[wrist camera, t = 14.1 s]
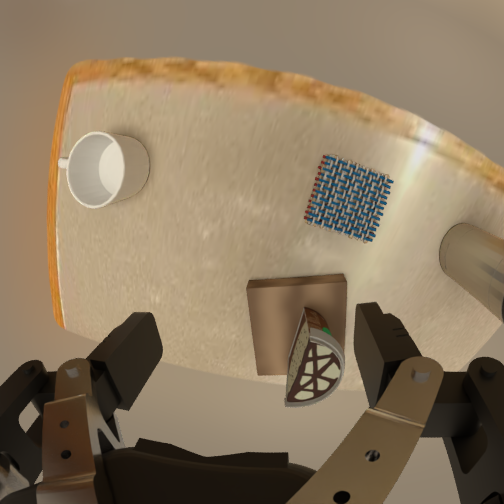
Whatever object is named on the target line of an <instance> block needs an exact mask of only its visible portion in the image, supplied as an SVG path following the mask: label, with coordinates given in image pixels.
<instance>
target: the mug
mask: <svg viewBox="0 0 504 504" xmlns="http://www.w3.org/2000/svg"><path fill="white" fill-rule="evenodd" d="M58 166H59V167H60V168H65V169H67V181H68V185H69V188H70V191H71V193H72V194H73V196H74V198H75V199H76V200H77V201H78V202H79V203H80V204H82V205H84V206H86V207H88V208H94V209H97V208H101V207H105V206H107V205H110V204H113V203H116V202H118V201H121V200H124V199H127V198H130V197H132V196H134V195H135V194H137V193H138V192H139V191H140V190H141V189H142V188H143V186H144V184H145V183H146V181H147V178H148V175H149V167H150V163H149V156H148V154H147V151H146V149H145V148H144V146H143V145H142V144H141V143H140V142H139V141H138V140H136V139H134V138H131V137H128V136H123V135H118V134H113V133H109V132H103V131H93V132H91V133H88V134H86V135H84V136H83V137H82V138H81V139H79V140H78V142H77V143H76V144H75V145H74V147H73V149H72V151H71V153H70V155H69V157H61V158H60V159H59V161H58Z"/></svg>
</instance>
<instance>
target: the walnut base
mask: <svg viewBox="0 0 504 504" xmlns="http://www.w3.org/2000/svg"><path fill="white" fill-rule="evenodd" d="M246 290H247V298H248V305H249V313H250V321H251V328H252V336H253V343H254V351H255V358H256V366H257V373H258V376H260V375H287V368H288V356H289V353H290V350H291V347H292V344H293V341H294V338H295V335H296V331H297V328H298V325H299V322H300V318H301V315H302V312H303V308H304V307H307V308H310V309H313V310H315V311H316V312H318V313H319V314H321V315H322V316H323V318H324V319H325V320H326V322H327V324H328V327H329V330H330V332H331V335H332V337H333V338H334V339H335V340H336V341H337V342H338V343H339V344H340V346H341V348H342V350H343V352H344V345H345V328H346V304H347V281H346V279H345V277H344V275H343V274H336V275H323V276H310V277H296V278H281V279H266V280H249V282H248V285H247V288H246Z"/></svg>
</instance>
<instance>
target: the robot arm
mask: <svg viewBox="0 0 504 504" xmlns="http://www.w3.org/2000/svg"><path fill="white" fill-rule="evenodd" d="M440 264H441V267H442V269H443V271H444V272H445V273H446V274H447V275H448V276H450V277H451V278H452V279H453V280H454V281H456V282H457V283H458V284H459V285H460V286H462V287H463V288H464V289H465V290H466V291H468V292H469V293H470V294H471V295H472V296H473V297H475V298H476V299H477V300H478V301H479V302H480V303H482V304H483V305H484V306H485V307H486V308H487V309H488V310H489V311H491V312H492V313H493V314H494V315H495V316H496V317H497V318H498V319H499V320H500V321H502V322H503V323H504V239H501V238H499V237H497V236H495V235H493V234H490V233H488V232H486V231H484V230H482V229H479V228H477V227H474V226H472V225H470V224H466V223H461V224H458V225H456V226H454V227H453V228H451V229H450V230H449V231H448V233H447V234H446V235H445V237H444V239H443V241H442V244H441V247H440ZM162 353H163V346H162V342H161V339H160V336H159V332H158V329H157V325H156V322H155V318H154V316H153V314H152V313H150V312H134V313H132V314H131V315H130V316H129V317H128V318H127V319H126V320H125V322H124V323H123V324H121V325H120V326H118V327H116V328H115V329H114V330H113V331H112V332H111V333H110V334H109V335H108V337H106V338H105V339H104V340H103V342H101V343H100V344H99V345H98V346H97V347H96V348H95V349H94V351H93V352H92V353H91V354H90V355H89V356H88V357H87V358H86V359H84V358H75V359H71V360H68V361H66V362H65V363H63V364H62V365H61V366H60V367H59V368H58V370H57V371H54V372H47V371H46V369H45V367H44V365H43V363H42V362H41V361H39V360H31V361H28V362H26V363H24V364H23V365H21V366H20V367H19V368H18V369H17V370H16V371H15V372H14V373H13V374H12V375H11V376H10V377H9V378H8V379H7V380H6V381H5V382H4V383H3V384H2V385H1V386H0V504H383V502H384V501H385V499H386V498H387V496H388V494H389V493H390V491H391V490H392V488H393V487H394V485H395V483H396V482H397V480H398V478H399V476H400V475H401V473H402V471H403V469H404V467H405V466H406V464H407V462H408V460H409V458H410V456H411V454H412V452H413V450H414V448H415V446H416V444H417V442H418V440H419V438H420V437H442V438H443V441H444V444H445V447H446V450H447V454H448V457H449V460H450V464H451V467H452V471H453V474H454V478H455V482H456V486H457V490H458V494H459V498H460V502H461V504H504V365H503V364H502V363H501V362H500V361H498V360H496V359H494V358H490V357H480V358H476V359H474V360H473V361H472V362H471V363H470V364H469V367H468V369H467V372H445V371H443V368H442V366H441V365H440V364H439V363H438V362H437V361H435V360H433V359H431V358H428V357H423V356H422V355H421V353H420V351H419V350H418V348H417V346H416V345H415V343H414V341H413V340H412V338H411V337H410V336H409V333H408V332H407V330H406V329H405V327H404V325H403V324H402V322H401V321H400V319H398V318H397V317H395V316H394V315H392V314H391V313H388V314H383V312H382V310H381V309H380V307H379V305H378V304H377V302H371V303H361V304H357V305H356V312H355V328H354V353H355V357H356V360H357V363H358V367H359V370H360V373H361V377H362V380H363V384H364V387H365V391H366V395H367V398H368V402H369V406H370V407H369V408H368V409H367V410H366V411H365V412H364V413H363V415H362V416H361V418H360V419H359V420H358V421H357V423H356V424H355V426H354V427H353V428H352V430H351V431H350V432H349V434H348V435H347V436H346V438H345V439H344V440H343V441H342V443H341V444H340V445H339V446H338V447H337V449H336V450H335V451H334V452H333V454H332V455H331V456H330V457H329V458H328V459H327V461H326V462H325V463H324V464H323V465H322V466H321V468H320V469H319V470H318V471H316V470H313V469H311V468H308V467H305V466H302V465H298V464H293V463H289V457H288V452H287V453H286V452H285V453H284V452H282V453H261V452H260V453H259V452H246V453H238V454H231V455H223V456H214V457H204V456H201V455H198V454H195V453H192V452H190V451H187V450H185V449H182V448H179V447H177V446H174V445H172V444H168V443H162V442H156V441H152V440H147V439H142V438H139V440H138V442H137V443H136V445H135V447H128V448H125V445H124V442H123V438H122V434H121V430H120V426H119V422H118V418H117V416H116V414H115V412H114V411H115V410H116V408H118V409H123V410H128V411H129V410H130V408H131V406H132V405H133V403H134V401H135V400H136V398H137V396H138V395H139V393H140V392H141V390H142V388H143V387H144V385H145V383H146V382H147V380H148V379H149V377H150V375H151V374H152V372H153V370H154V369H155V367H156V365H157V364H158V362H159V361H160V359H161V357H162ZM30 401H31V402H32V403H33V405H34V407H35V408H36V410H37V411H38V412H39V414H40V415H39V416H38V418H37V419H36V420H35V421H34V423H33V424H32V425H31V427H30V428H29V429H28V431H27V432H26V433H25V432H24V430H23V429H22V428H21V426H20V424H19V415H20V413H21V412H22V411H23V410H24V408H25V407H26V406H27V404H28V403H29V402H30ZM42 470H43V481H42V482H39V483H37V484H34V483H35V481H36V479H37V478H38V476H39V474H40V473H41V471H42Z"/></svg>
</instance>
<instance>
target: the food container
mask: <svg viewBox="0 0 504 504" xmlns="http://www.w3.org/2000/svg"><path fill="white" fill-rule="evenodd" d="M344 368H345V356H344V352H343V350H342V348H341V346H340V344H339V343H338V342H337V341H336V340H335V339H334V338H333V337H332V335H331V332H330V330H329V327H328V324H327V322H326V320H325V319H324V318H323V316H322V315H321V314H319V313H318V312H316V311H315V310H313V309H310V308H307V307H304V308H303V312H302V315H301V318H300V322H299V325H298V328H297V331H296V335H295V338H294V341H293V344H292V347H291V350H290V353H289V356H288V368H287V384H286V398H285V407H305V406H310V405H313V404H316V403H318V402H320V401H322V400H324V399H326V398H327V397H329V396H330V395H331V394H332V393H333V392H334V391H335V390H336V389H337V387H338V386H339V384H340V382H341V380H342V377H343V374H344Z"/></svg>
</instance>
